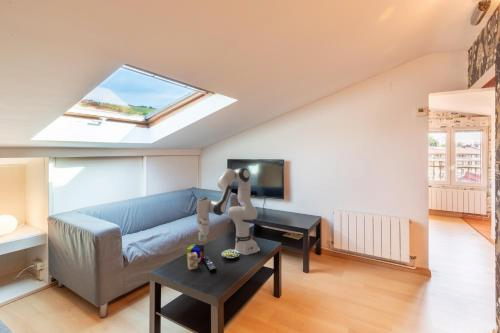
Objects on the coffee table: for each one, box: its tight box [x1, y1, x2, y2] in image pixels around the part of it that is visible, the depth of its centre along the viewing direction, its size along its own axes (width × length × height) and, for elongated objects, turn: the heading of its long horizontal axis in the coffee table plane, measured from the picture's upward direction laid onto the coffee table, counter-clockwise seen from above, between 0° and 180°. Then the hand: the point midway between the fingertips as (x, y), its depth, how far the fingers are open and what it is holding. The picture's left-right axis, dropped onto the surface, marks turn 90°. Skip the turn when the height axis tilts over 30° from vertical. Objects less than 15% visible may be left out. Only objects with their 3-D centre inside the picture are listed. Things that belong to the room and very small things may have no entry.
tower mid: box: [187, 252, 198, 263], centre depth 188 cm, size 6×6×5 cm
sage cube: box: [198, 231, 208, 242], centre depth 189 cm, size 5×5×5 cm
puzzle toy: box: [186, 243, 205, 264], centre depth 202 cm, size 10×10×10 cm
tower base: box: [187, 261, 198, 271], centre depth 188 cm, size 6×6×5 cm
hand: (202, 237), depth 189 cm, fingers closed on sage cube, 5 cm apart
